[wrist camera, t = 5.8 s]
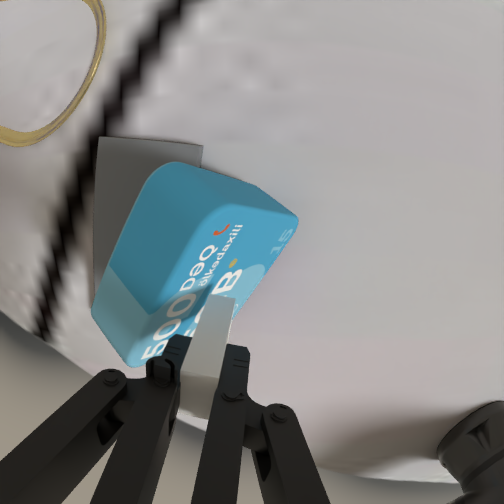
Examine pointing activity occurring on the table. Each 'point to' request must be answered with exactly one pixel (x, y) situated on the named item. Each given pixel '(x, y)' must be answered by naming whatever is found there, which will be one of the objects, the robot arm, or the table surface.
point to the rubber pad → (126, 186)
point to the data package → (185, 256)
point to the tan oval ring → (31, 138)
